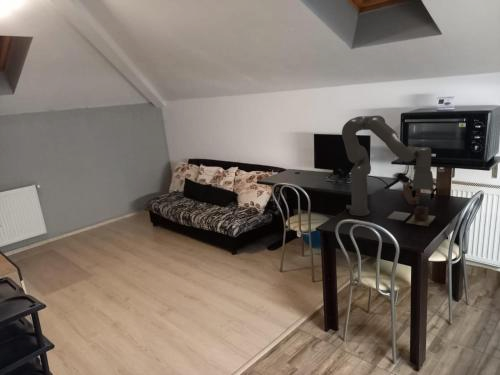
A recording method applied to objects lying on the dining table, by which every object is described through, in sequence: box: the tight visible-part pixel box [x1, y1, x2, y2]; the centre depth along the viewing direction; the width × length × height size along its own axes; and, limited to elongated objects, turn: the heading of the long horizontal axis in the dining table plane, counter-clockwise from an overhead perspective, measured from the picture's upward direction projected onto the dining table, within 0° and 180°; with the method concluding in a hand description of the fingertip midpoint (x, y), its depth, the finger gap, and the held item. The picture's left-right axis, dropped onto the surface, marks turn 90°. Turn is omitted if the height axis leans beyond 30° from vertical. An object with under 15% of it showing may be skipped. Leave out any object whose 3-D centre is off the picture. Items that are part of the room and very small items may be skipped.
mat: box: [386, 210, 411, 221], centre depth 234 cm, size 10×14×1 cm
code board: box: [405, 213, 436, 227], centre depth 225 cm, size 12×18×1 cm, turn 142°
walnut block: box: [413, 205, 429, 222], centre depth 224 cm, size 6×6×7 cm
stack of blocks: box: [402, 181, 422, 205], centre depth 261 cm, size 21×6×12 cm, turn 171°
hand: (422, 198), depth 222 cm, fingers open, 9 cm apart
